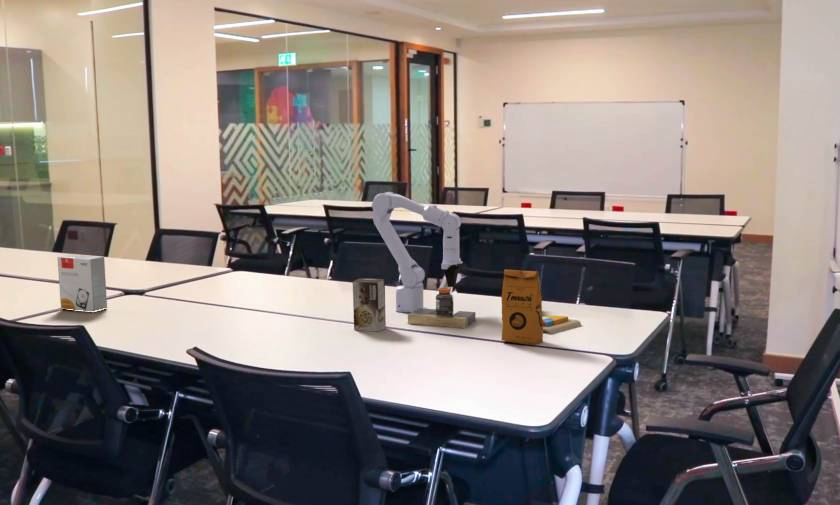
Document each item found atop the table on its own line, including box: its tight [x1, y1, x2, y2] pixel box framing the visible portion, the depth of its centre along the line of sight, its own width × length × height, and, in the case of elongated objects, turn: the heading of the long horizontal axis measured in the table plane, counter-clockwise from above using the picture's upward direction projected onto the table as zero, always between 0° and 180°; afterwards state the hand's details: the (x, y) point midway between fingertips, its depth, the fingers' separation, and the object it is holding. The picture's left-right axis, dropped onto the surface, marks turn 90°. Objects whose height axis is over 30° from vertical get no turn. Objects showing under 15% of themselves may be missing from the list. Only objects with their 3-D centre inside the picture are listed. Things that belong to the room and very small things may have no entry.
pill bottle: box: [435, 286, 454, 316], centre depth 271 cm, size 6×6×11 cm
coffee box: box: [351, 278, 387, 332], centre depth 260 cm, size 9×6×16 cm
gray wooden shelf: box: [407, 308, 476, 329], centre depth 270 cm, size 20×11×3 cm, turn 69°
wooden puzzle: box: [542, 313, 582, 335], centre depth 264 cm, size 18×19×4 cm
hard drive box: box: [57, 254, 108, 311], centre depth 294 cm, size 16×8×20 cm, turn 68°
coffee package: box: [501, 269, 544, 346], centre depth 241 cm, size 10×12×22 cm
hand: (451, 286), depth 284 cm, fingers closed
